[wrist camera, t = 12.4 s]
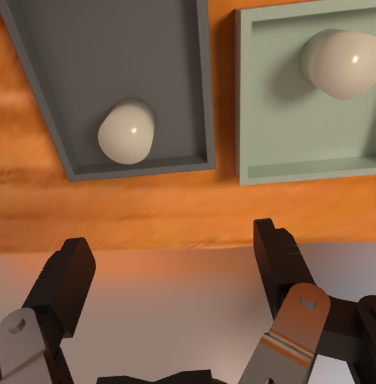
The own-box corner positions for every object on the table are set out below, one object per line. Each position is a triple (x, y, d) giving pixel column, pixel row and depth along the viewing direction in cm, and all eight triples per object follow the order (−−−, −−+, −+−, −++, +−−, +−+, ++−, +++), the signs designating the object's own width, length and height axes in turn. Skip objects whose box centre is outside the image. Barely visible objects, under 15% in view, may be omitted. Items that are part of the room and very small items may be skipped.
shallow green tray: (234, 8, 23) (241, 10, 20) (427, -15, 22) (463, -17, 19) (235, 169, 32) (239, 185, 29) (373, 157, 31) (392, 172, 28)
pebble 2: (302, 31, 23) (327, 37, 19) (357, 25, 23) (394, 30, 19) (296, 86, 26) (316, 102, 22) (345, 81, 26) (375, 96, 21)
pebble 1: (106, 99, 26) (91, 118, 22) (152, 95, 26) (145, 112, 22) (117, 142, 29) (106, 166, 25) (159, 138, 29) (155, 161, 25)
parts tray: (6, -24, 22) (-16, -27, 19) (202, -50, 21) (204, -57, 19) (78, 167, 32) (69, 181, 29) (213, 155, 31) (215, 169, 29)
